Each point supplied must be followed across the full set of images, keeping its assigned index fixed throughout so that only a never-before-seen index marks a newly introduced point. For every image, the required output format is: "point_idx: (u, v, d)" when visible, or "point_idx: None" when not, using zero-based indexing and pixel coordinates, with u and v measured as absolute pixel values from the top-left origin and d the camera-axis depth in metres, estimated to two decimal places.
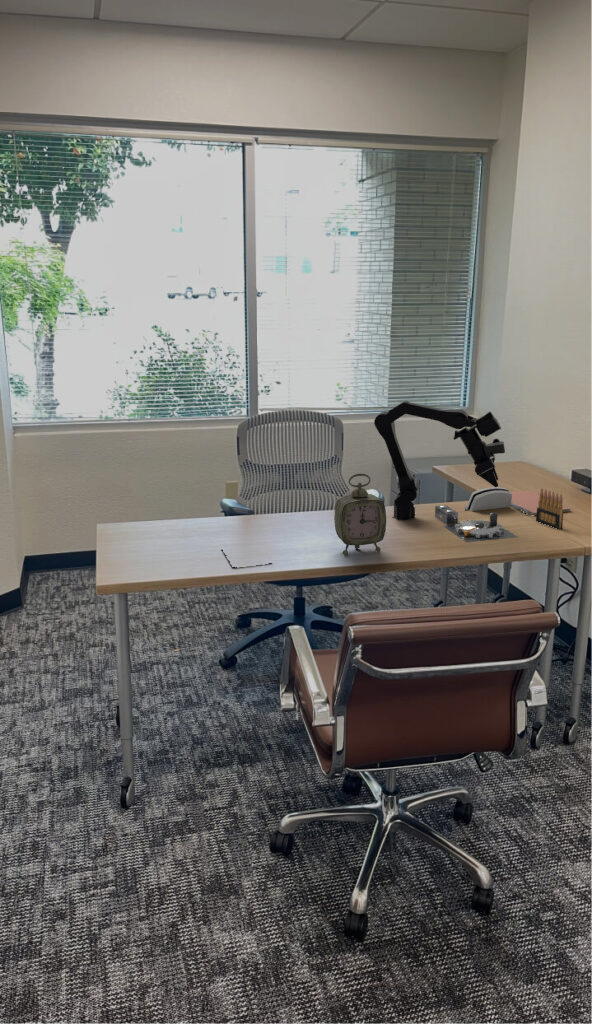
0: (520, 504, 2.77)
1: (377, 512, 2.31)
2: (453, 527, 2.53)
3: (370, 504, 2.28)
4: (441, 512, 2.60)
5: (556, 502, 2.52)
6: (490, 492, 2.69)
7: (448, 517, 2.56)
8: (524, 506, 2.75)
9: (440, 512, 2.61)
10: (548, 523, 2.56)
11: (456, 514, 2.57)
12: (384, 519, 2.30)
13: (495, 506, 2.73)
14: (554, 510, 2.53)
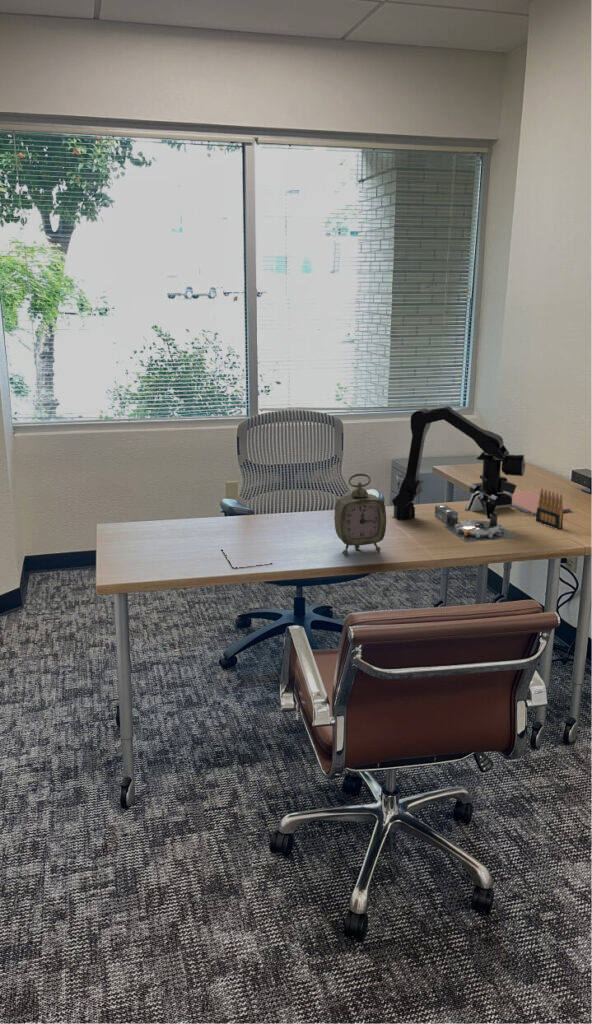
0: (520, 504, 2.77)
1: (377, 512, 2.31)
2: (453, 527, 2.53)
3: (370, 504, 2.28)
4: (441, 512, 2.60)
5: (556, 502, 2.52)
6: None
7: (448, 517, 2.56)
8: (524, 506, 2.75)
9: (440, 512, 2.61)
10: (548, 523, 2.56)
11: (456, 514, 2.57)
12: (384, 519, 2.30)
13: None
14: (554, 510, 2.53)
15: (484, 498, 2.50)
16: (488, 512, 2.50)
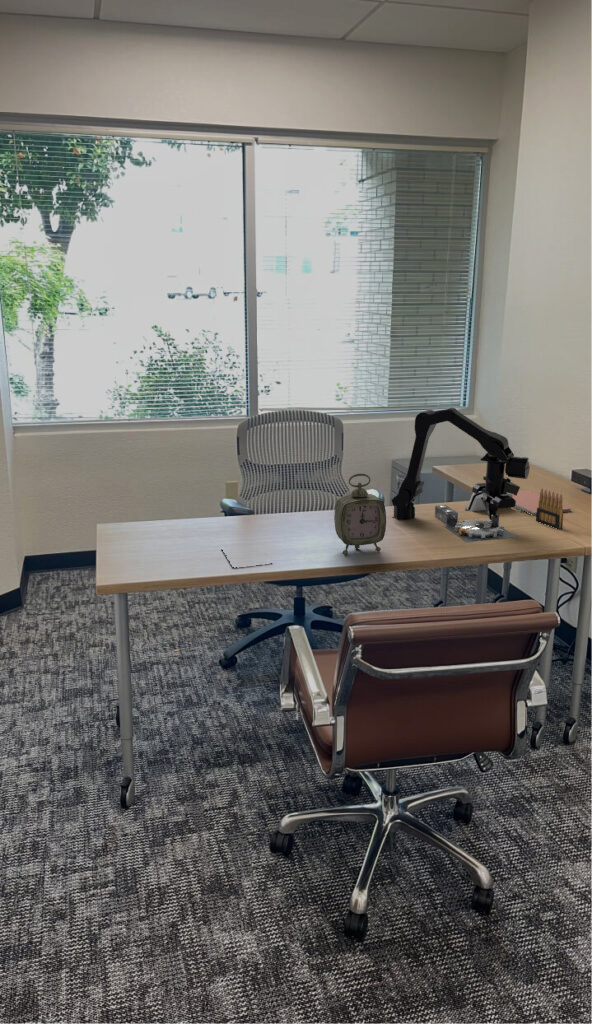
0: (521, 504, 2.78)
1: (377, 512, 2.31)
2: (453, 527, 2.53)
3: (370, 504, 2.28)
4: (441, 512, 2.60)
5: (556, 502, 2.52)
6: None
7: (448, 517, 2.56)
8: (525, 506, 2.75)
9: (440, 512, 2.61)
10: (548, 523, 2.56)
11: (456, 514, 2.57)
12: (384, 519, 2.30)
13: None
14: (554, 510, 2.53)
15: (487, 499, 2.48)
16: (491, 513, 2.48)
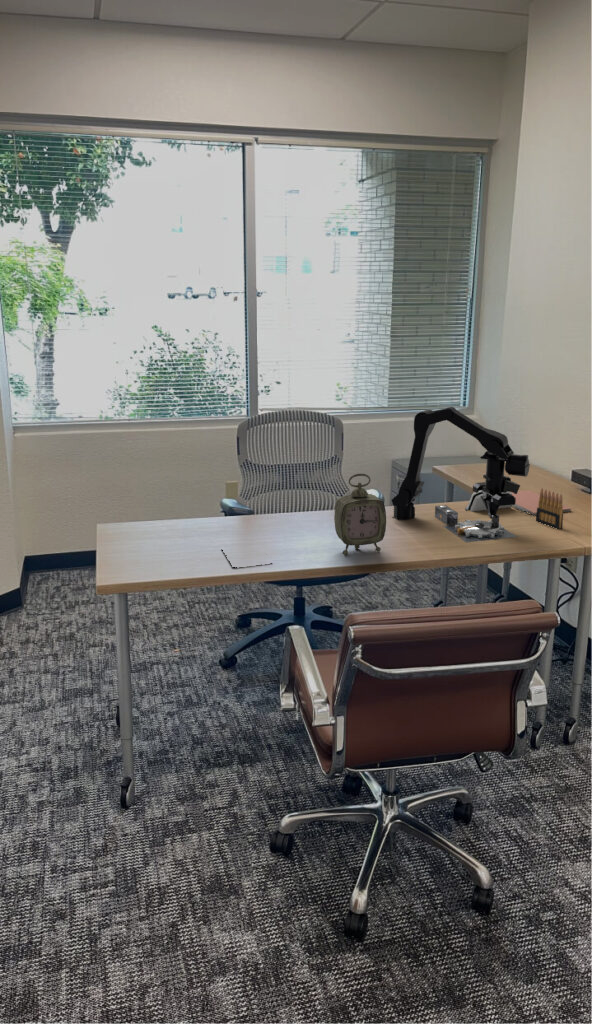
0: (521, 504, 2.78)
1: (377, 512, 2.31)
2: (453, 527, 2.53)
3: (370, 504, 2.28)
4: (441, 512, 2.60)
5: (556, 502, 2.52)
6: None
7: (448, 517, 2.56)
8: (525, 506, 2.75)
9: (440, 512, 2.61)
10: (548, 523, 2.56)
11: (456, 514, 2.57)
12: (384, 519, 2.30)
13: None
14: (554, 510, 2.53)
15: (487, 498, 2.48)
16: (491, 512, 2.48)
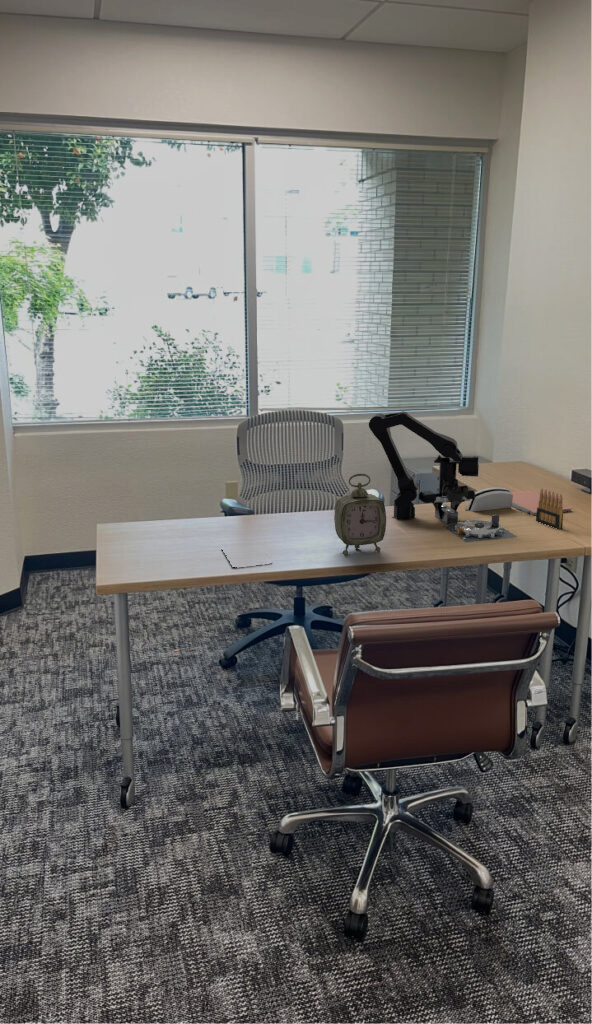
0: (521, 504, 2.78)
1: (377, 512, 2.31)
2: (453, 527, 2.53)
3: (370, 504, 2.28)
4: None
5: (556, 502, 2.52)
6: (491, 492, 2.69)
7: (448, 516, 2.56)
8: (525, 506, 2.75)
9: None
10: (548, 523, 2.56)
11: (456, 513, 2.57)
12: (384, 519, 2.30)
13: (496, 506, 2.73)
14: (554, 510, 2.53)
15: None
16: (437, 512, 2.61)
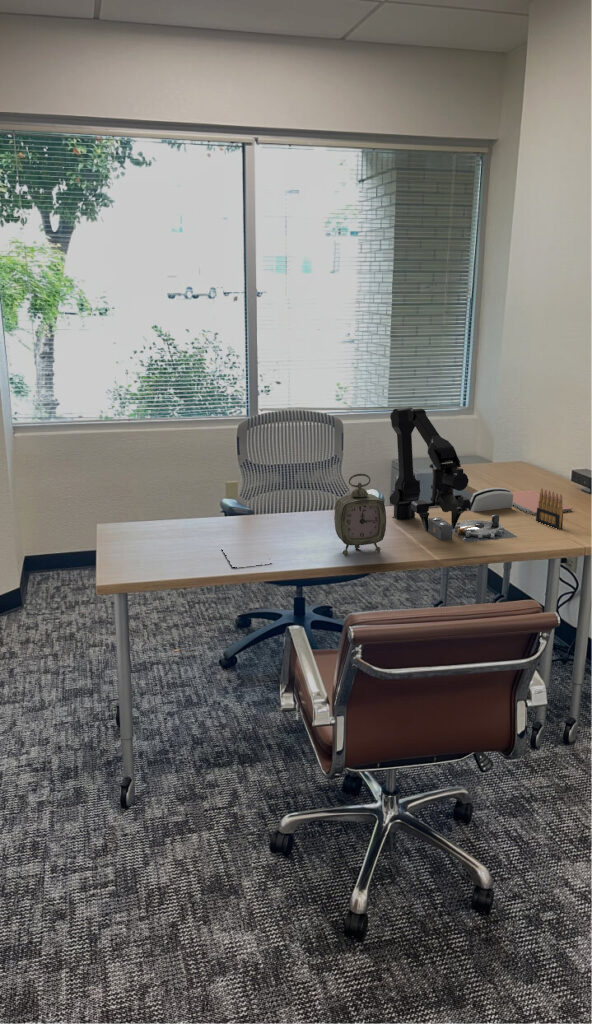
0: (522, 504, 2.78)
1: (377, 512, 2.31)
2: None
3: (370, 504, 2.28)
4: (434, 525, 2.44)
5: (556, 502, 2.52)
6: (491, 493, 2.69)
7: (442, 530, 2.40)
8: (526, 506, 2.75)
9: (433, 525, 2.45)
10: (548, 523, 2.56)
11: (451, 527, 2.41)
12: (384, 519, 2.30)
13: (496, 507, 2.73)
14: (554, 510, 2.53)
15: None
16: (423, 523, 2.44)
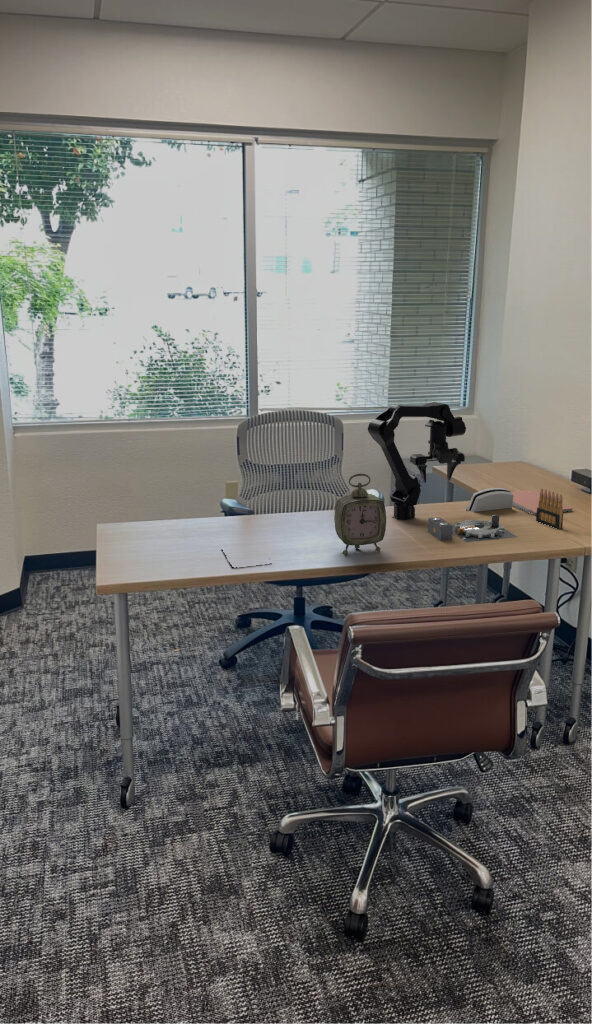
0: (522, 504, 2.78)
1: (377, 512, 2.31)
2: (453, 527, 2.53)
3: (370, 504, 2.28)
4: (434, 525, 2.44)
5: (556, 502, 2.52)
6: (491, 493, 2.68)
7: (442, 530, 2.40)
8: (526, 506, 2.75)
9: (433, 525, 2.45)
10: (548, 523, 2.56)
11: (451, 527, 2.41)
12: (384, 519, 2.30)
13: (496, 507, 2.72)
14: (554, 510, 2.53)
15: None
16: (421, 475, 2.68)
